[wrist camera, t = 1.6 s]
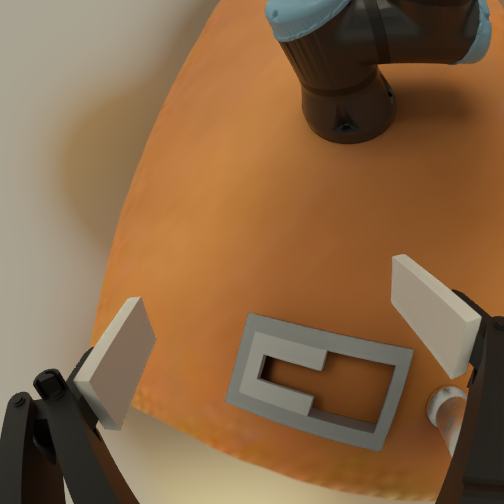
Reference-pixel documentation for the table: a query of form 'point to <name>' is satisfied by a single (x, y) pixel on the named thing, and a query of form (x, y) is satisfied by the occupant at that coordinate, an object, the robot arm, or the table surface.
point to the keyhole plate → (314, 356)
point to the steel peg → (447, 413)
